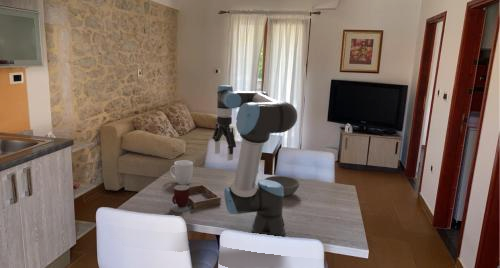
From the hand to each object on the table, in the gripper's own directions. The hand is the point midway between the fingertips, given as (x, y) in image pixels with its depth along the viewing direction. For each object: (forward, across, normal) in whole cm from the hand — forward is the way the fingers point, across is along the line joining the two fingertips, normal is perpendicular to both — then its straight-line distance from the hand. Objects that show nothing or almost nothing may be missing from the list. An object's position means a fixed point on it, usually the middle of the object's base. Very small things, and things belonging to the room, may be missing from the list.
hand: (223, 156), depth 185 cm
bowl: (+27, -2, -37) cm, 46 cm away
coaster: (+27, +7, +21) cm, 35 cm away
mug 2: (+26, +7, +21) cm, 34 cm away
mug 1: (+27, +41, +6) cm, 49 cm away
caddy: (+27, +12, +8) cm, 30 cm away
